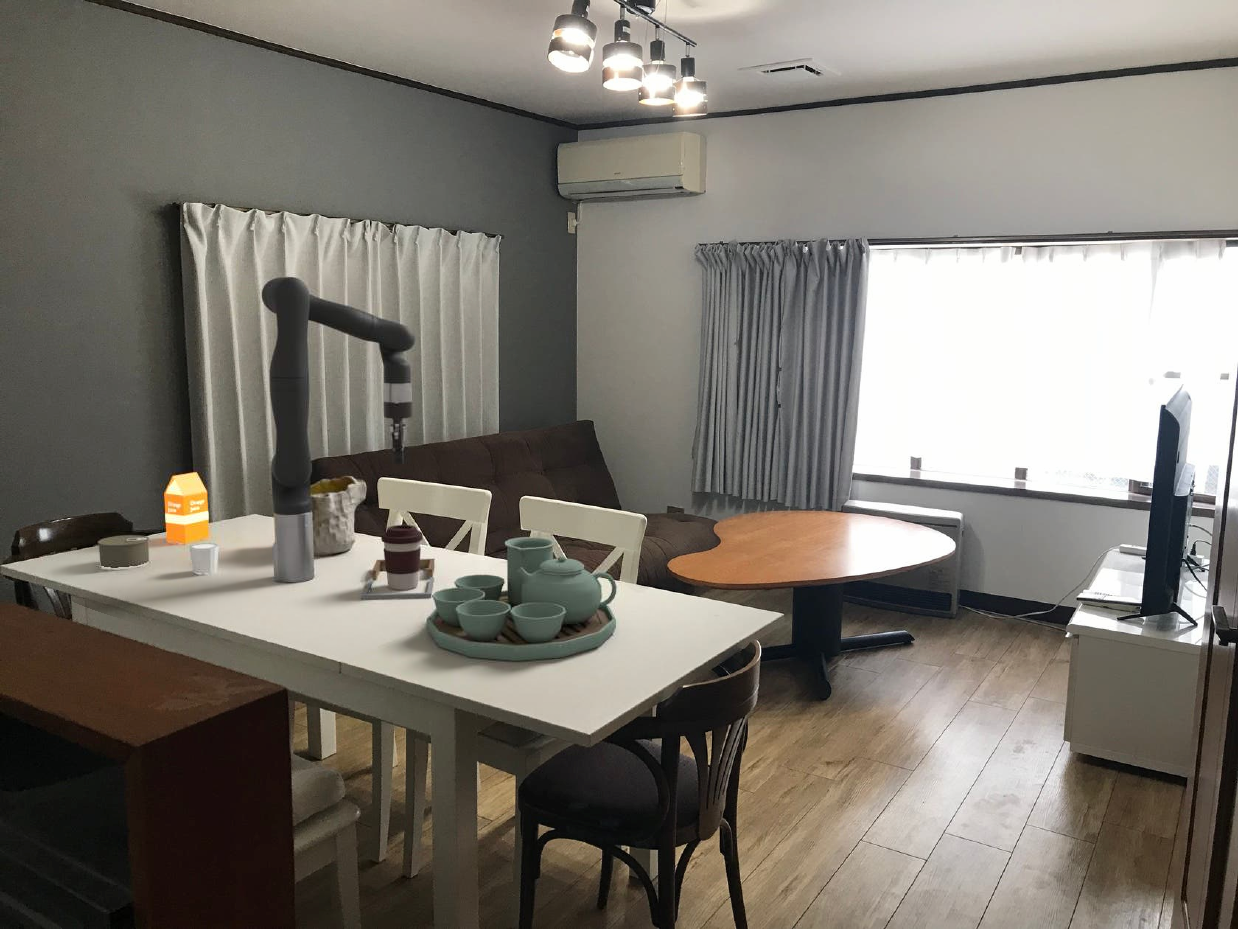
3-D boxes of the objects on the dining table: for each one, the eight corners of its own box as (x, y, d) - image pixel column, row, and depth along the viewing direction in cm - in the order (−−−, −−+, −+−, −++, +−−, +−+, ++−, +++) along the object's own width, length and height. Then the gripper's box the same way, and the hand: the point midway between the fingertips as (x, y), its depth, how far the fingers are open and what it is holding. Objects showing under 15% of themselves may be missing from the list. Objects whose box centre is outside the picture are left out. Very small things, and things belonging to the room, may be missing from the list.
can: (100, 562, 257) (98, 537, 256) (149, 557, 263) (148, 533, 262) (99, 572, 247) (97, 546, 246) (150, 567, 252) (149, 542, 251)
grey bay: (362, 599, 226) (361, 595, 226) (369, 582, 241) (369, 578, 240) (431, 597, 228) (430, 593, 228) (434, 581, 243) (433, 577, 243)
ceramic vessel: (245, 530, 259) (276, 452, 271) (289, 568, 279) (317, 494, 292) (318, 535, 253) (347, 455, 265) (358, 574, 273) (384, 497, 285)
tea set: (403, 619, 212) (401, 547, 210) (564, 596, 232) (564, 530, 230) (469, 677, 178) (468, 591, 176) (651, 644, 198) (652, 567, 196)
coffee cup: (399, 594, 230) (398, 533, 228) (374, 587, 237) (372, 527, 234) (431, 586, 238) (430, 527, 236) (405, 579, 244) (404, 521, 242)
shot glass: (206, 576, 244) (205, 550, 243) (184, 574, 246) (183, 547, 245) (225, 570, 250) (224, 544, 249) (204, 567, 252) (203, 542, 251)
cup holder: (372, 580, 243) (372, 570, 242) (377, 569, 254) (376, 559, 253) (432, 579, 245) (432, 569, 244) (434, 567, 256) (434, 558, 256)
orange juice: (209, 539, 286) (206, 472, 283) (185, 545, 278) (182, 477, 275) (190, 536, 289) (187, 470, 286) (166, 542, 281) (162, 474, 278)
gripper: (385, 398, 263) (386, 460, 265) (381, 401, 250) (382, 467, 252) (413, 398, 264) (414, 460, 266) (410, 402, 251) (411, 467, 253)
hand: (398, 463), depth 259 cm, fingers closed
